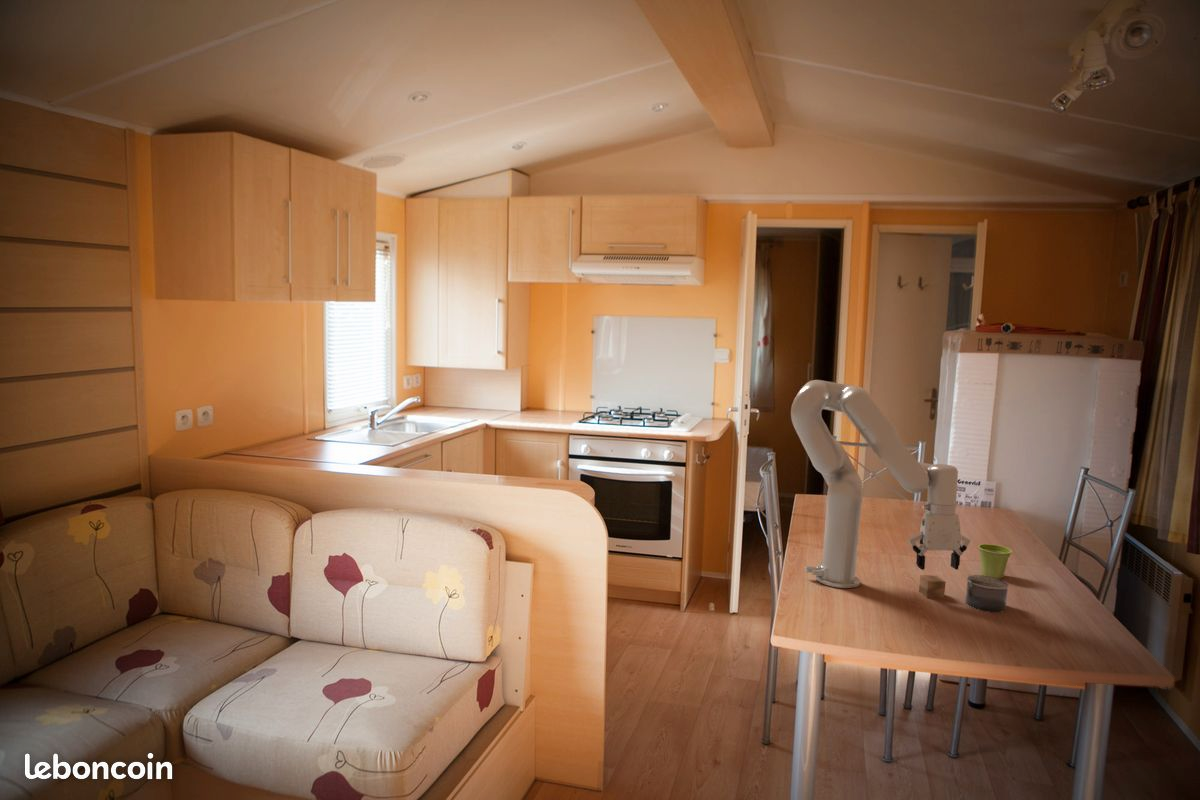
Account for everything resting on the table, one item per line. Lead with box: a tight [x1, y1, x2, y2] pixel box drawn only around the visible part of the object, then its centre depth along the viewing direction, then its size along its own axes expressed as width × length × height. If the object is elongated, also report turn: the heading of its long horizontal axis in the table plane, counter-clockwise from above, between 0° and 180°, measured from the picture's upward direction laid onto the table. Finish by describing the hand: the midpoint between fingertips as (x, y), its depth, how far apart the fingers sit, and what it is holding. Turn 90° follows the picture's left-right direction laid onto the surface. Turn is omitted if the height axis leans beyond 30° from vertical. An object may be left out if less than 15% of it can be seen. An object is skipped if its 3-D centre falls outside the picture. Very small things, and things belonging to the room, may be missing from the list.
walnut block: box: [918, 574, 946, 599], centre depth 229 cm, size 5×5×5 cm
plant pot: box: [977, 543, 1013, 579], centre depth 249 cm, size 9×9×9 cm
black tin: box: [964, 574, 1009, 613], centre depth 223 cm, size 10×10×7 cm
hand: (937, 568), depth 228 cm, fingers open, 9 cm apart
